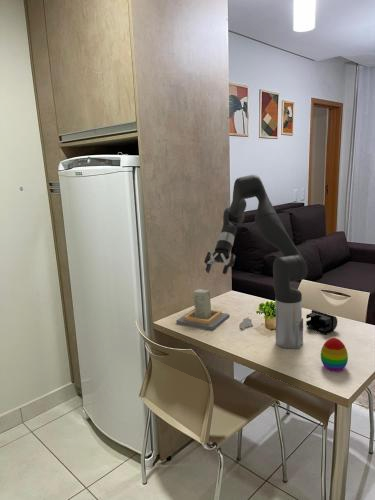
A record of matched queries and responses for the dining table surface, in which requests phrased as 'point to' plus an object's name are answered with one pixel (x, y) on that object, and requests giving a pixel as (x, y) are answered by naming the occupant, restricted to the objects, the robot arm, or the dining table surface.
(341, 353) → the decorative egg
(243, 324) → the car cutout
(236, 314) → the dining table surface
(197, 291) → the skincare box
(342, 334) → the dining table surface
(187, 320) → the grey wood framed tray
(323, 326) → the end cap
